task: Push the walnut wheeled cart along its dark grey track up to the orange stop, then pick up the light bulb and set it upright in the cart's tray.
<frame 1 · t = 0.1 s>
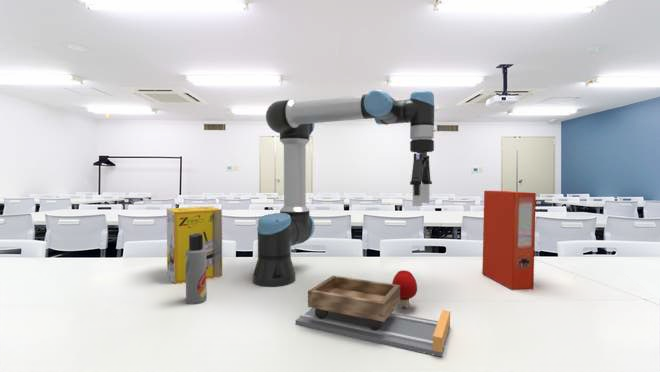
hand: (421, 204, 109), 28 cm above the table, tool pointing down, fingers open, 13 cm apart
track: (372, 325, 82), on the table
lotion bottle: (196, 301, 99), on the table
packaging box: (194, 275, 126), on the table
light bulb: (404, 308, 94), on the table
file binder: (506, 282, 118), on the table
cart: (355, 301, 84), point 5 cm above the table, slide at 0.0 cm
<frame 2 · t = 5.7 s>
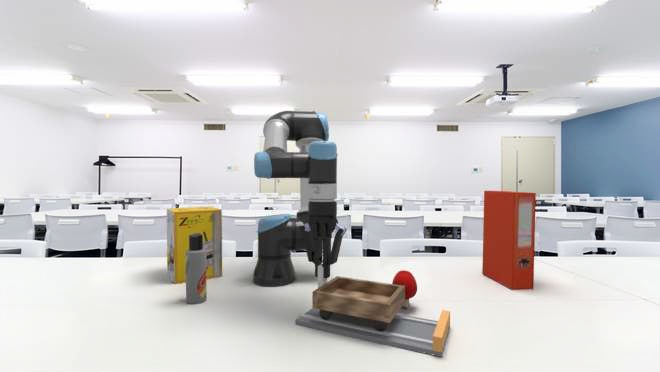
hand: (322, 289, 88), 7 cm above the table, tool pointing down, fingers closed
cart: (360, 302, 84), point 5 cm above the table, slide at 1.3 cm, touching gripper
everything else where it was.
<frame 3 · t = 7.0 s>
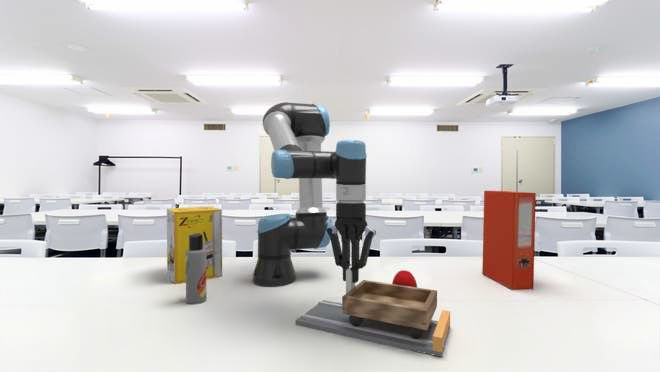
hand: (350, 294, 85), 7 cm above the table, tool pointing down, fingers closed
cart: (390, 307, 80), point 5 cm above the table, slide at 9.3 cm, touching gripper
everything else where it was.
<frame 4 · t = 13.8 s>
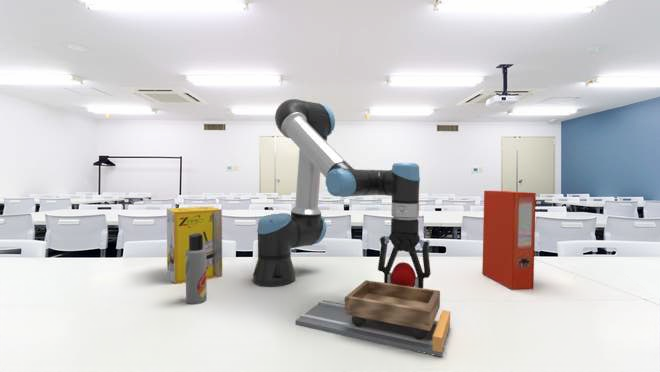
hand: (403, 298, 94), 3 cm above the table, tool pointing down, fingers closed on light bulb, 7 cm apart
light bulb: (403, 300, 94), point 2 cm above the table, touching gripper
cart: (393, 308, 80), point 5 cm above the table, slide at 9.9 cm
everything else where it was.
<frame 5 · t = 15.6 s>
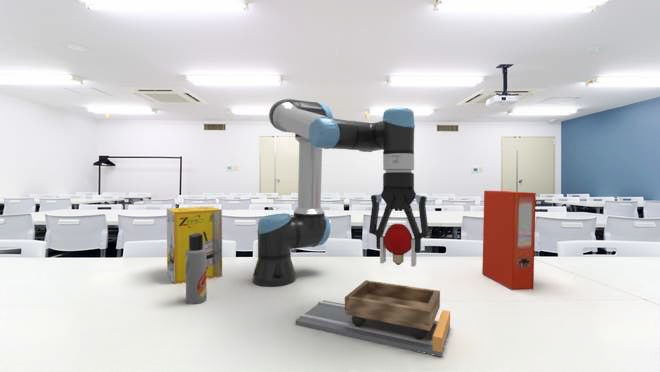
hand: (398, 263, 83), 15 cm above the table, tool pointing down, fingers closed on light bulb, 7 cm apart
light bulb: (398, 265, 83), point 15 cm above the table, touching gripper
everything else where it was.
when the fingers open (7 cm above the table, at t = 17.8 s): light bulb stays where it is, resting on cart.
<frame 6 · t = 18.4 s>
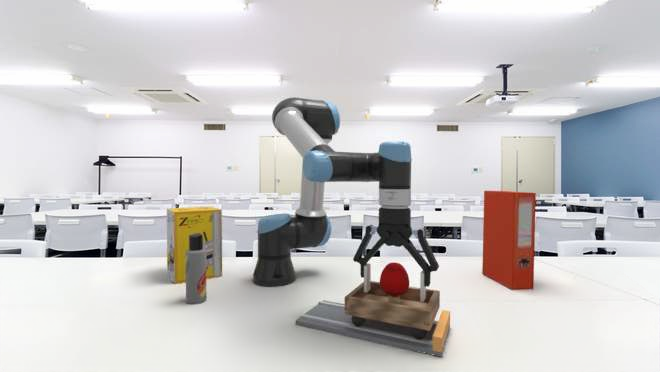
hand: (394, 295, 80), 9 cm above the table, tool pointing down, fingers open, 13 cm apart
light bulb: (394, 307, 80), point 6 cm above the table, touching cart
cart: (393, 308, 80), point 5 cm above the table, slide at 9.9 cm, touching light bulb
everything else where it was.
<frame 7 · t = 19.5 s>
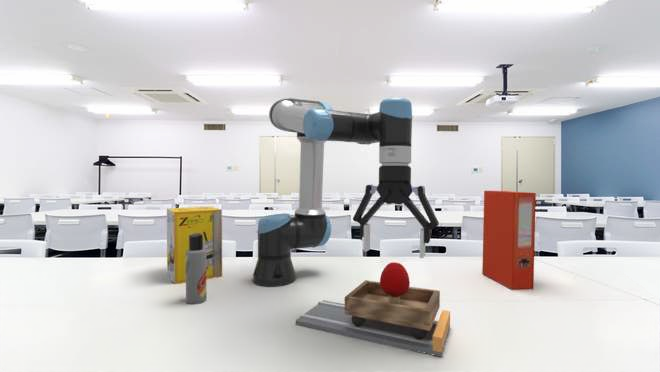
hand: (393, 253, 80), 18 cm above the table, tool pointing down, fingers open, 13 cm apart
nothing on the table moved.
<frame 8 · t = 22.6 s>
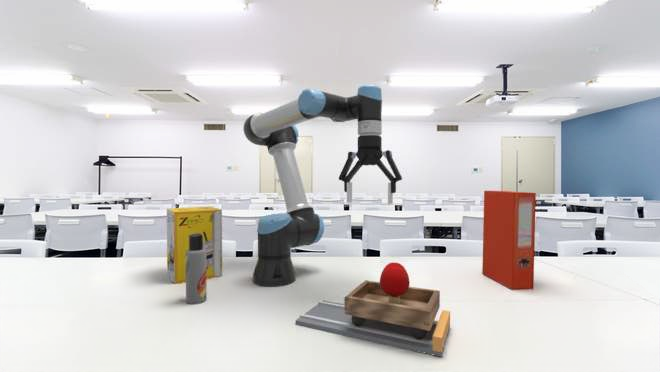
hand: (369, 203, 105), 29 cm above the table, tool pointing down, fingers open, 13 cm apart
nothing on the table moved.
at the end: cart slide at 9.9 cm; light bulb inside the target area (0.1 cm from its centre), point 5.6 cm above the table; light bulb tilted 0° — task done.
